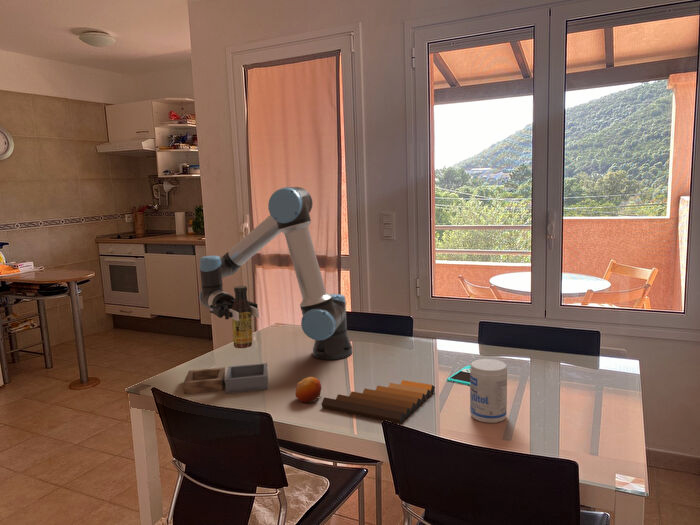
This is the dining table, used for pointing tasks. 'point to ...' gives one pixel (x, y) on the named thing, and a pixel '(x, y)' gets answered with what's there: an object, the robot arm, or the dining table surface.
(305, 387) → the fruit
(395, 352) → the dining table surface
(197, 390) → the walnut holder
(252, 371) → the grey square tray
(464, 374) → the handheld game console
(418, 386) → the brown ridged flat piece
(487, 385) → the supplement tub
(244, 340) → the sauce bottle
